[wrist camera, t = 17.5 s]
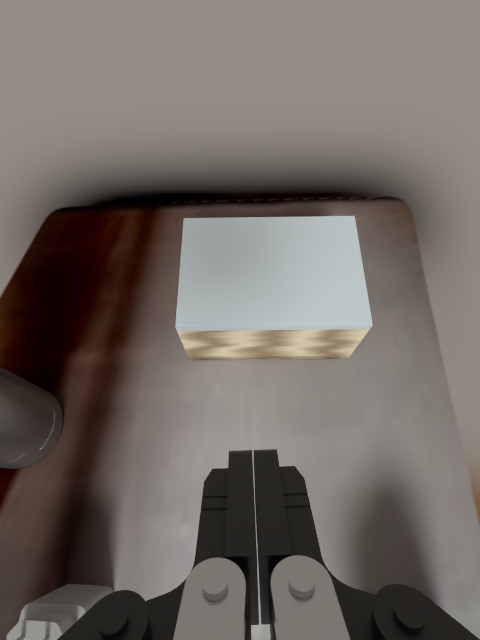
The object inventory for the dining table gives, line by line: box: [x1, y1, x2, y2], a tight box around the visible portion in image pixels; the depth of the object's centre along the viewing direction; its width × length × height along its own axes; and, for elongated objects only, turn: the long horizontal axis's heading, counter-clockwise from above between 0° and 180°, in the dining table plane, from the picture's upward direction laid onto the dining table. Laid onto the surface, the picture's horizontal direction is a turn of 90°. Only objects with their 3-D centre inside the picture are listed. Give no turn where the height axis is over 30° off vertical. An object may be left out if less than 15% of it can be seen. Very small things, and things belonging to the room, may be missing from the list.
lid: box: [175, 216, 373, 331], centre depth 41 cm, size 20×14×1 cm
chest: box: [177, 329, 369, 360], centre depth 46 cm, size 20×14×9 cm
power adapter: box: [7, 584, 114, 640], centre depth 31 cm, size 3×5×12 cm, turn 87°
